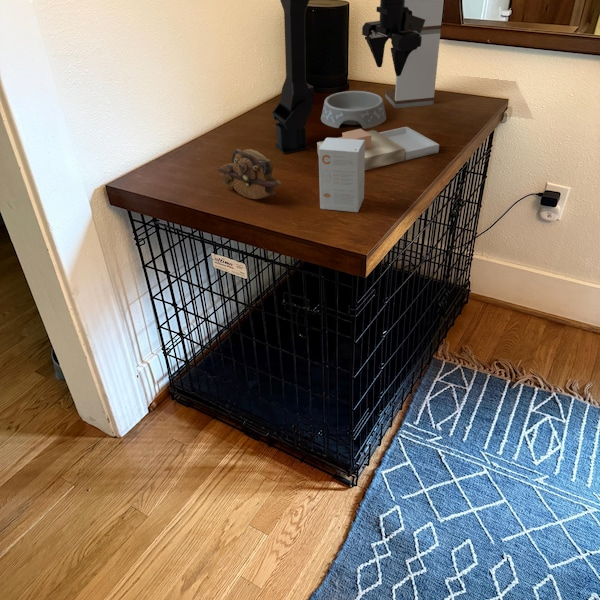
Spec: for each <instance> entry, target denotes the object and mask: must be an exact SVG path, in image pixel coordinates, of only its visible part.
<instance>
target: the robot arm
mask: <svg viewBox="0 0 600 600" xmlns="http://www.w3.org/2000/svg"><path fill="white" fill-rule="evenodd" d="M280 3H281V7H282V8H283V14H284V15H283V16H284V17H283V18H284V46H285V47H284V48H285V50H284V51H285V52H284V53H285V55H284V56H285V80H284V82H283V84H282V88H281V93H280V101H279V102H278V104H277V105H276V107H275V108H274V110H273V111H272V113H271V114H272V117H273V119H274V120H275V122H277V123H276V124H275V129H276V130H275V132H276V134H275V135H276V143H274V147H276V149H278V150H279V151H280V152H281V153H282V154H285V155H286V154H291V153H296V152H301V151H304V150H308V146H307V145H306V144H307V128H306V124H307V122H308V119H309V118H308V117H309V116H310V114H312V111H313V106H315V105H316V103H315V98H314V97H315V87H314V86H313V85H311V84H309V83H308V82H307V77H306V76H307V74H306V71H307V69H306V10H307V8H308V5H309V3H310V0H280ZM379 3H380V4H379V6H376V12H377V13H379V20H373V21H367V22H365V23H364V24H363V25H362V27H361V28H362V31H361V35H362V36H364V39H365V40H366V43H367V45H368V47H369V50H370V52H371V54H372V57H373V59H374V61H375V64H376V67H377V68H382V67H383V63H384V55H385V47H386V43H387V42H388V40H389V39H390V42H391V46H392V47H390V53H391V58H392V59H391V60H392V62H393V68H394V73H395V77H396V76H400V75H401V73H402V70H403V68H404V65H405V63H406V60H407V58H408V56H409V54H410V53H411V52H412V51H413V50H416V49H417V48H418V47H420V46H421V42H422V37H421V36H420V34H419V33H421V31H422V29H423V26H424V23H425V19H422V18H419V17H416V16H413V15H412V11H410V10H409V9H408V7H405V0H380V2H379ZM409 30H412V31H409ZM402 31H404V32H402ZM405 31H407V32H405ZM413 31H417V32H418V33H416V32H413Z"/></svg>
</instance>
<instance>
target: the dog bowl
mask: <svg viewBox="0 0 600 600" xmlns="http://www.w3.org/2000/svg"><path fill="white" fill-rule="evenodd" d="M323 102H324V103H323V108H322V112H321V116H320V120H321V123H323V124H324V125H325V126H328V127H331V128H335V129H339V128H340V126H341V125H347V126H349V125H350V126H355V125H357V126H358V125H360V126H361V127H362V128H361V129H362V130H363V129H369V128H374V127H377V126H380V125H381V124H383V123H385V122H386V120H387V115H386V110H385V109H386V108H385V104H384V103H385V102H384V99H383V97H381V96H380V95H379V94H376V93H374V92H371V91H364V90H347V91H342V92H341V91H340V92H336V93H333V94H330V95H329V96H327V97H326V98H325V99H324V101H323Z"/></svg>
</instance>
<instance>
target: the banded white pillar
mask: <svg viewBox="0 0 600 600" xmlns="http://www.w3.org/2000/svg"><path fill="white" fill-rule="evenodd" d="M405 7H408V9H409V10H410V11H412V15H413V16H416V17H419V18H422V19H425V23H424V26H423V29H422V31H421V33H419V34H420V36H421V37H422V42H421V46H420V47H418V48H417V49H416V50H413V51H412V52H411V53H410V54H409V56H408V58H407V60H406V63H405V65H404V68H403V70H402V73H401V75H400V76H396V75H395V88H394V89H393V88H392V89H385V90H384V91H385V93H384V97H385V99H386V100H387V101H388V102H389V103H390V105H392V107H393V108H395V109H400V108H401V109H404V108H411V107H421V106H432V105H434V102H435V101H434V100H435V90H436V82H437V80H436V79H437V70H438V61H439V60H438V59H439V50H440V40H441V39H440V38H441V31H442V19H443V13H444V12H443V11H444V0H405ZM409 31H412V30H409ZM402 32H404V31H402ZM405 32H407V31H405ZM413 32H416V33H418V32H417V31H413Z"/></svg>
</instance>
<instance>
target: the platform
mask: <svg viewBox="0 0 600 600" xmlns="http://www.w3.org/2000/svg"><path fill="white" fill-rule="evenodd" d="M366 132H367V133H369V134H370V135H371V148H367V149H365V168H364V171H367V170H371V169H376V168H380V167H383V166H387V165H391V164H395V163H400V162H405V160H404V157H405V148H403V147H402V146H400V145H398V144H397V143H395V142H393V141H392V140H390V139H389V138H387V137H385V136H384V135H382V134H380V133H379V132H378V131H377V130H376V129H372V130H367V131H366ZM338 138H342V136H339V137H338ZM324 141H325V140H321V141H318V142H316V145H317V146H316V148H317V150H316V151H317V155H318V156H319V152H318V149H319V147H320V146H321V145H322V143H323V142H324Z"/></svg>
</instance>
